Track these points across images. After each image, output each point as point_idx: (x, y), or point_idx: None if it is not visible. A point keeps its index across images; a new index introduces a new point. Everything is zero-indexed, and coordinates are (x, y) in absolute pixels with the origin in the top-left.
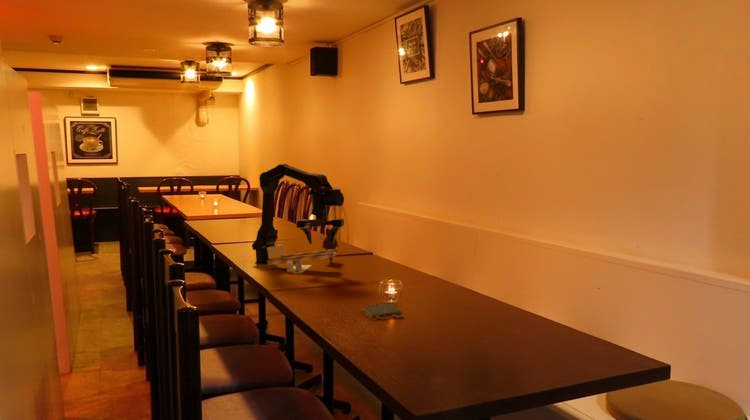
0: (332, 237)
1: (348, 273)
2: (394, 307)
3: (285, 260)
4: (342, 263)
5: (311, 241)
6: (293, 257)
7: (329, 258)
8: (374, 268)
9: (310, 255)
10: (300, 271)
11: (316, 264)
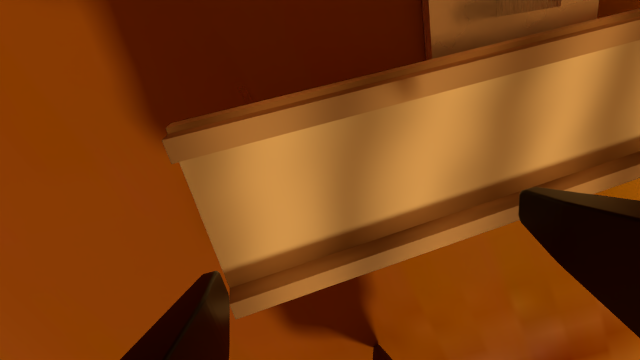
0: (158, 347)
1: (89, 112)
2: None
3: (638, 14)
4: (298, 338)
5: (543, 243)
6: (591, 31)
7: (386, 356)
8: (14, 287)
9: (429, 72)
10: (450, 36)
11: (432, 283)
